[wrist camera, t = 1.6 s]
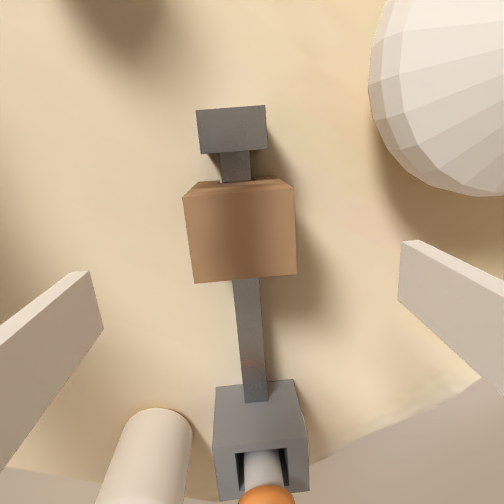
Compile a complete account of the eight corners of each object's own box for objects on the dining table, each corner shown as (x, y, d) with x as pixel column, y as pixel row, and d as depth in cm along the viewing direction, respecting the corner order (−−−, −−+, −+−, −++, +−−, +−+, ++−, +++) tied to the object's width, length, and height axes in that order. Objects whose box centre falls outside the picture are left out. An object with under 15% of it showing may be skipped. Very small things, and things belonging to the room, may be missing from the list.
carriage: (205, 243, 32) (194, 283, 22) (197, 182, 30) (182, 197, 21) (278, 237, 32) (296, 274, 23) (274, 175, 30) (293, 188, 21)
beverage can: (111, 433, 39) (60, 552, 27) (153, 391, 37) (119, 498, 26) (164, 466, 41) (137, 588, 29) (206, 427, 39) (196, 541, 28)
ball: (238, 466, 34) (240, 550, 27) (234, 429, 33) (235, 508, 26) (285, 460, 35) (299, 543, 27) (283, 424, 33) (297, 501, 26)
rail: (233, 385, 38) (233, 427, 32) (202, 118, 29) (195, 110, 23) (275, 380, 38) (283, 422, 32) (258, 113, 29) (265, 105, 23)
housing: (222, 433, 40) (220, 501, 32) (216, 387, 38) (212, 447, 30) (298, 425, 40) (313, 490, 32) (296, 378, 38) (312, 436, 30)
